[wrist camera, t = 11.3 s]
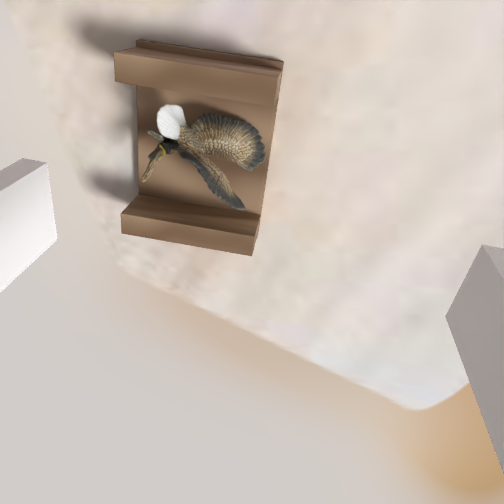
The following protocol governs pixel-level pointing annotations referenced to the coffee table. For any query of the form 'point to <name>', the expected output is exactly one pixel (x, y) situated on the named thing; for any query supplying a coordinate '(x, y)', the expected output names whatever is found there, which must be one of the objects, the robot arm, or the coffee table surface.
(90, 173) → the coffee table surface
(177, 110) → the eagle figurine
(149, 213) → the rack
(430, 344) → the coffee table surface
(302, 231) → the coffee table surface
